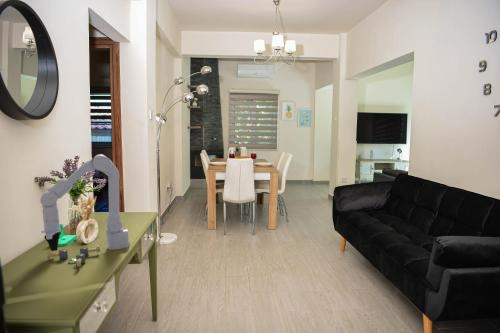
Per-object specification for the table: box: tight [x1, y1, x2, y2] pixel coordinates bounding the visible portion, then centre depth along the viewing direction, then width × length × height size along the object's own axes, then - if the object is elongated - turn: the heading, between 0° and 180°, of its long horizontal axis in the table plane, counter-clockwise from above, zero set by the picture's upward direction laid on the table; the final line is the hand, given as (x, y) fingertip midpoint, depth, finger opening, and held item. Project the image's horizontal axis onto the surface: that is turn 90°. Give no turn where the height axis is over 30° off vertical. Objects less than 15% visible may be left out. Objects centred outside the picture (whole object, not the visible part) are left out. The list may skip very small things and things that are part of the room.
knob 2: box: [75, 253, 86, 268], centre depth 135 cm, size 8×3×4 cm, turn 20°
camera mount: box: [47, 223, 77, 247], centre depth 163 cm, size 12×8×10 cm, turn 2°
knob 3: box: [79, 245, 101, 258], centre depth 145 cm, size 8×3×4 cm, turn 110°
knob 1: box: [46, 248, 69, 261], centre depth 142 cm, size 8×3×4 cm, turn 110°
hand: (54, 250), depth 145 cm, fingers closed
